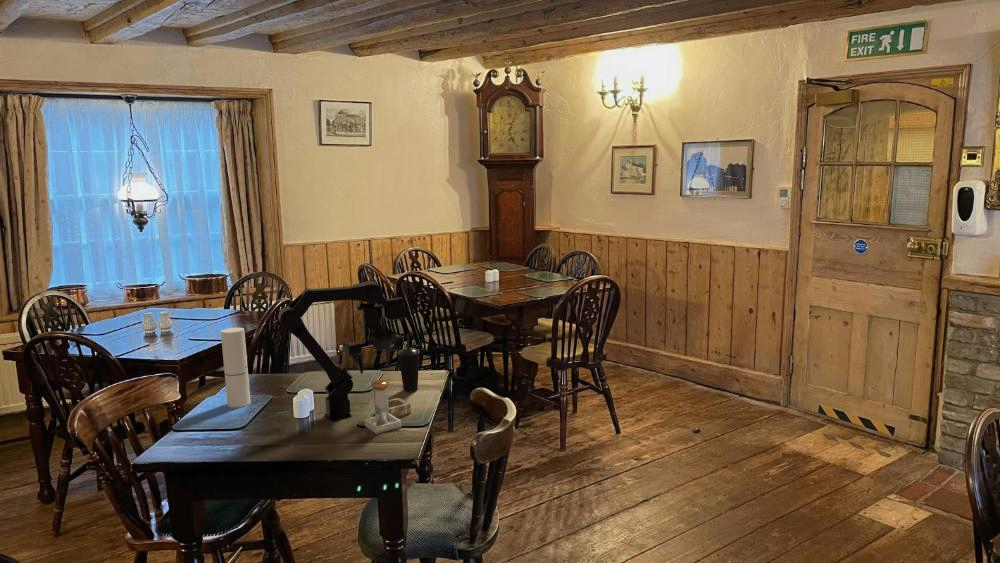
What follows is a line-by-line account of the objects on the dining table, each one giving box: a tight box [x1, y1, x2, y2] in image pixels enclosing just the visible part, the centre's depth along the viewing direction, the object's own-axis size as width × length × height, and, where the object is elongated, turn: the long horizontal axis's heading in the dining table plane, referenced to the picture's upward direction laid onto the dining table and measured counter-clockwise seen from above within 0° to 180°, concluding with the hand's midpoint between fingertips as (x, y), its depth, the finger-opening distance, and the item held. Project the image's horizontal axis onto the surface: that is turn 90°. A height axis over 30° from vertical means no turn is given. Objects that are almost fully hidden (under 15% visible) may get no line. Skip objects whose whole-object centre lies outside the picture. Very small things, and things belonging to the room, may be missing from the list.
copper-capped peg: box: [371, 379, 390, 426], centre depth 210 cm, size 5×5×13 cm
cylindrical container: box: [220, 327, 252, 408], centre depth 232 cm, size 7×7×25 cm
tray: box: [363, 414, 403, 435], centre depth 211 cm, size 8×8×2 cm
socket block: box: [388, 397, 412, 418], centre depth 222 cm, size 8×8×3 cm
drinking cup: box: [397, 332, 421, 393], centre depth 243 cm, size 8×8×20 cm
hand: (375, 370), depth 223 cm, fingers open, 9 cm apart
